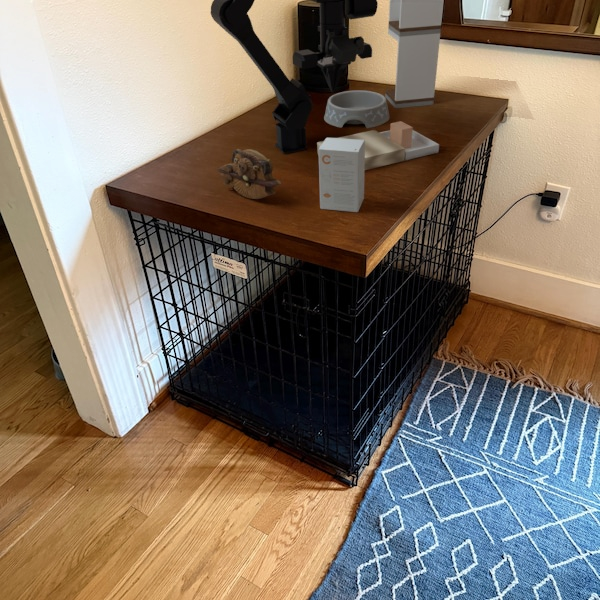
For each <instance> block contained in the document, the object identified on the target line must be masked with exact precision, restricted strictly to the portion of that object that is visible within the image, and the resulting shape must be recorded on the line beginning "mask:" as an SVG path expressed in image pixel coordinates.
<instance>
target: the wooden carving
mask: <svg viewBox="0 0 600 600" xmlns="http://www.w3.org/2000/svg"><path fill="white" fill-rule="evenodd" d="M230 160H231V162H230V163H227V164H224V165H222V166H220V167H218V168H217V170H218V172H219V175H220V177H221V179H222V182H223V185H224V186H225V187H227V188H233V189H234V190H235V191H236V192H237V194H239V195H241V196H242V197H244V198H247V199H252V200H260V199H263V198H266V197H269V196H273V195H275V194H276V193H277V191H276V190H275V188H274V187H277V186H280V185H282V183H281V181H280V179H277V178H274V176H273V171H274V164H273V162H272V160H271V159H269V158H267V157H266V156H265V155H264V154H262V153H260V152H259V151H257V150H255V149H252V148H251V149H250V148H248V149H247V148H246V149H243V150H242V149H240V148H237V149H234V150H233V151H232V154H231V158H230Z"/></svg>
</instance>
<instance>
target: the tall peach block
mask: <svg viewBox="0 0 600 600" xmlns="http://www.w3.org/2000/svg"><path fill="white" fill-rule="evenodd" d="M413 128H414V127H413V126H411V125H409V124H407V123H405V122H403V121H396V122H392V123H390V129H389V130H390V140H392V141H393V142H395V143H397V144H398V145H400V146H402V147H403V148H405V149H406V148H411V143H412V130H414V129H413Z"/></svg>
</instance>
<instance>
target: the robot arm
mask: <svg viewBox="0 0 600 600" xmlns="http://www.w3.org/2000/svg"><path fill="white" fill-rule="evenodd" d="M310 1H311V2H313V3H315V4H319V25H317V31H318V32H320V33H319V36H320V40H319V41H320V42H319V43H320V44H318V45H317V46H318V47H317V49H318V50H319V52H314V51H312V50H310V49H301V50H296V51H294V53H293V55H292V64H293V65H294V66H295V67H298V68H300V69H302V70H306V69H311V68H312V69H314V68H316V67H317V66H318V67H319V68H320V70H321V72H322V73H323V76H324V78H325V81H326V83H327V85H328V88H329V90H330V92H331V93H334V92H336V90H337V88H338V84H339V81H340V79H341V76H342V74H343V71H344V70H345V68H346V67H347V66H349V65H351V63H353V62H356V60H357V56H358V57H359V59H362V60H365V59H369V58H372V57H373V47H372V45H371V44H370V43H367V42H365V39H364V38H363V36H362V35H361V36H360V35H359V36H355V37H350V35H349V30H348V29H349V28H348V27H346V16H347V18H348V19H349V20H355V19H356V20H357V19H363V18H369V17H374V16H375V15H376V13H377V10H378V1H377V0H310ZM254 3H255V0H212V3H211V6H210V15H211V17H212V19H213V21H214V22H215V23H217V25H218V26H219V27H220V28H222V29H223V30H224V31H225V32H226V33H227V34H229V35H230V36H231V37H232V38H233V39H234V40H236V41H237V43H238V44H239V45H240V46H241V48H242V49H243V50H244V51H245V53H246V54H247V55H248V57H249V58H250V60H251V61H252V62H253V63H254V64H255V66H256V68H258V70H259V72H261V74H262V75H263V76H264V78H265V79H266V81H267V82H268V83H269V85H270V86H271V87H272V89H273V91H274V93H275V97H276V99H277V101H278V104H277V105H276V106H275V108H274V110H273V111H272V113H271V114H272V117H273V119H274V121H275V122H277V123H276V124H275V129H276V130H275V132H276V134H275V135H276V143H274V147H276V149H278V150H279V151H280V152H281V153H282V154H285V155H286V154H291V153H296V152H301V151H304V150H308V146H307V145H306V144H307V128H306V126H307V125H306V124H307V122H308V119H309V116H310V114H311V112H312V109H313V102H312V98H313V96H312V95H310V93H308V92H307V90H306V88H305V86H304V84H303V83H301V82H299V81H298V80H296V79H295V78H293V77H292V78H291V79H289V78H288V77H287V75H286V74H285V73H284V71H283V70H282V68H281V67H280V66H279V64H278V63H277V62H276V60H275V58H274V57H273V56H272V54H271V53H270V52H269V50H268V49H267V47H266V46H265V45H264V44H263V42H262V41H261V39H260V38H259V37H258V35H257V34H256V32H255V29H254V27H253V24H252V20H251V19H250V16H249V15H248V12H249V11H250V9H251V8H252V7H253V6H254Z"/></svg>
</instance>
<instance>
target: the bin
mask: <svg viewBox="0 0 600 600" xmlns="http://www.w3.org/2000/svg"><path fill="white" fill-rule="evenodd" d="M379 133H380V134H382V135H384V136H385V137H387V138H389V139H390V129H389V130H385V131H380V132H379ZM439 150H440V144H439V143H437V142H436V141H433V140H432V139H430V138H428V137H426V136H425V135H423V134H421V133H419V132H418V131H416V130H414V129H413V130H412V143H411V148H406V149H405V157H404V161H408V160H409V161H410V160H412V159H417V158H421V157H426V156H428V155H434V154H438V153H439Z"/></svg>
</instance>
